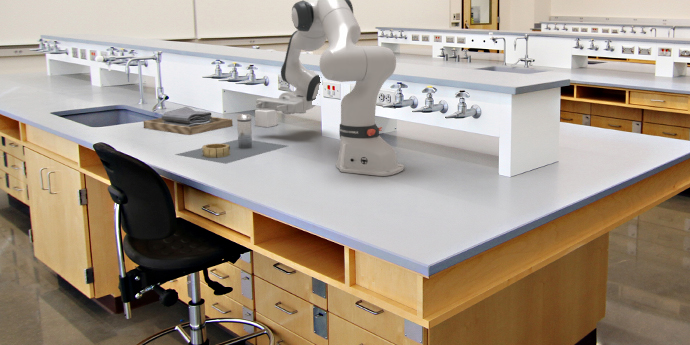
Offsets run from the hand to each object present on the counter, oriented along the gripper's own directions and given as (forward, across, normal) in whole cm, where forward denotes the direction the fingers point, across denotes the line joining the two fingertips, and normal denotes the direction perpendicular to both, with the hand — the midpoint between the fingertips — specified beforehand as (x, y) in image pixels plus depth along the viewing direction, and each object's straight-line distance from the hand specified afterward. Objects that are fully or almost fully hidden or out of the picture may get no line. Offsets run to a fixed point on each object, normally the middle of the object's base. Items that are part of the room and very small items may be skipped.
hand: (266, 107), depth 236 cm
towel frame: (-7, -50, +15) cm, 53 cm away
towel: (-7, -51, +15) cm, 54 cm away
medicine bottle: (-29, -24, +15) cm, 40 cm away
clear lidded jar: (+13, 0, +13) cm, 19 cm away
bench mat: (+19, 0, +14) cm, 24 cm away
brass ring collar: (+28, 0, +13) cm, 31 cm away
